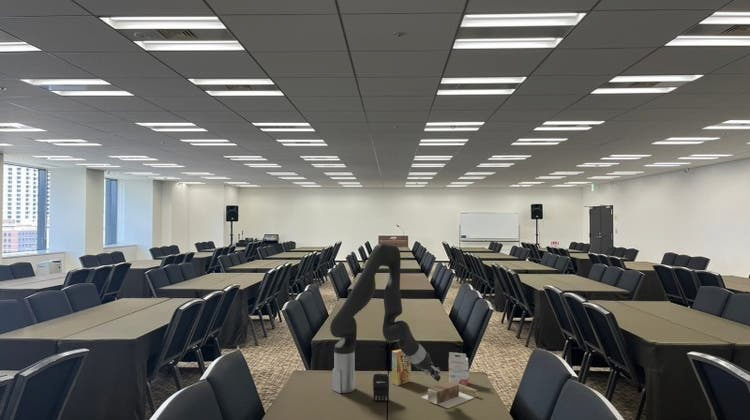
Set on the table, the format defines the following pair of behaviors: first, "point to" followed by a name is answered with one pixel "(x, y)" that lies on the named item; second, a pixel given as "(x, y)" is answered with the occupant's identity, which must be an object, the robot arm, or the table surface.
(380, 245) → the robot arm
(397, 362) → the candy box
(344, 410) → the table surface
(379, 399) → the battery charger
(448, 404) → the felt mat
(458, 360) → the ink cartridge box
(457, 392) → the brown block
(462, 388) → the birch lip
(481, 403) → the table surface
